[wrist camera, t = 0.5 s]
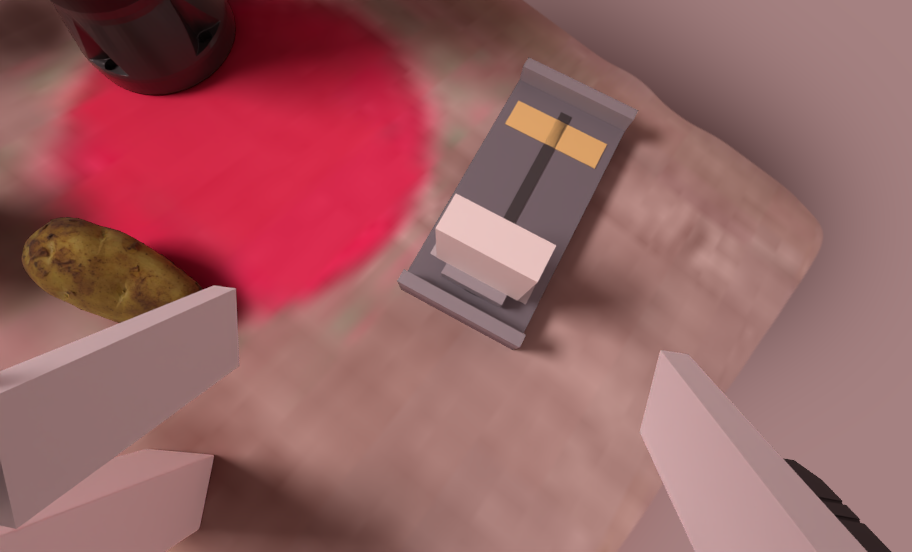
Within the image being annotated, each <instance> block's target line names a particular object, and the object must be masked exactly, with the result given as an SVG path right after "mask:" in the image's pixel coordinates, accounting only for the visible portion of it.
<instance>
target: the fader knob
mask: <svg viewBox="0 0 912 552" xmlns="http://www.w3.org/2000/svg"><path fill="white" fill-rule="evenodd" d="M435 232H436V253H437V258H438V259H440V260H442V261H444V262H446V265H445V267H444V269H443V270H442V272H441V276H442V277H443V278H445V279H447V280H449V281H451V282H453V283H455V284H456V285H458V286H460V287H462V288H464V289H466V290H468V291H469V292H471V293H473V294H475V295H477V296H479V297H481V298H482V299H484V300H486V301H488V302H490V303H492V304H494V305H495V306H497V307H499V308H500V307H501V306H502V304H503V302H504V300H505V298H506V296H507V295H508V296H509V297H511V298H513V299H515V300H519V299H520V298H521V297H522V296H523V295H524V294H525V293H526V292H527V291H529V290H530V289H531V288H532V287H533V286H534V285H535V284H536V283H537V282H538V281H539V279H540V277H541V275H542V273H543V271H544V269H545V267H546V265H547V263H548V261H549V259H550V257H551V255H552V253H553V251H554V249H555V247H556V245H554V244H553V243H551V242H549V241H547V240H545V239H543V238H541V237H539V236H537V235H535V234H533V233H531V232H529V231H528V230H526V229H524V228H522V227H520V226H518V225H516V224H514V223H512V222H510V221H508V220H506V219H504V218H502V217H501V216H499V215H497V214H495V213H493V212H491V211H489V210H487V209H485V208H483V207H481V206H479V205H477V204H475V203H474V202H472V201H470V200H468V199H466V198H464V197H462V196H460V195H458V194H455V195H454V197H453V199H452V201H451V202H450V204H449V206H448V207H447V209H446V211H445V213H444V214H443V216H442V218H441V219H440V221H439V223H438V225H437V226H436V228H435Z"/></svg>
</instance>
